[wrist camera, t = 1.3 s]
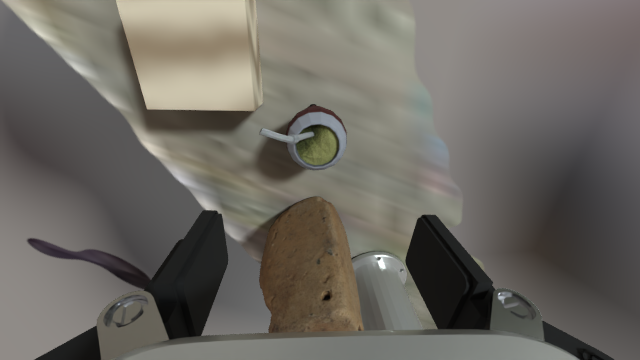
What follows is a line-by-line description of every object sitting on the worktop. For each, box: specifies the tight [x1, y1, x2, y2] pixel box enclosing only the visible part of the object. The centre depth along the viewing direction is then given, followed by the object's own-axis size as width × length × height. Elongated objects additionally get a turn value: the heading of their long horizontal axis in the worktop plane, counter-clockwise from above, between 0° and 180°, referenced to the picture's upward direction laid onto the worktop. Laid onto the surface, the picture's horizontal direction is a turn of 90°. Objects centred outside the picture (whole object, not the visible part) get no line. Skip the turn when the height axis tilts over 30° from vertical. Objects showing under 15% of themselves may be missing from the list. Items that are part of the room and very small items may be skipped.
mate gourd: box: [259, 104, 347, 170], centre depth 25 cm, size 8×8×15 cm
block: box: [259, 197, 364, 333], centre depth 30 cm, size 11×8×20 cm
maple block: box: [116, 0, 263, 111], centre depth 25 cm, size 11×11×6 cm
